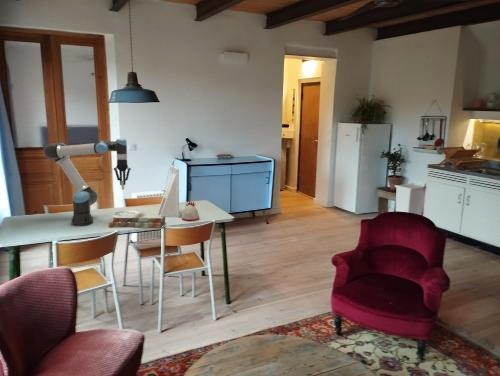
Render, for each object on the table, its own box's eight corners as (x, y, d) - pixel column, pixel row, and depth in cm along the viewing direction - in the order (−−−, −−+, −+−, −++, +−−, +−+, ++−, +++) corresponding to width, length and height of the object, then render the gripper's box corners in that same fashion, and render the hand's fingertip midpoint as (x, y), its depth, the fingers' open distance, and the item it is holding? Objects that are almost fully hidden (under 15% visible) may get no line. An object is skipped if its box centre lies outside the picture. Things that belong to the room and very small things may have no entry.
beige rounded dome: (195, 222, 320) (195, 203, 318) (179, 220, 323) (179, 202, 320) (201, 217, 334) (201, 199, 331) (185, 216, 336) (185, 198, 334)
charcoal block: (137, 226, 305) (137, 221, 304) (139, 223, 312) (139, 218, 311) (147, 226, 306) (147, 221, 305) (148, 223, 312) (148, 218, 312)
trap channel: (108, 227, 299) (108, 220, 298) (113, 222, 314) (113, 215, 313) (162, 227, 302) (162, 221, 301) (165, 222, 316) (164, 216, 316)
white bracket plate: (155, 212, 343) (154, 166, 335) (172, 211, 350) (171, 165, 342) (161, 219, 326) (161, 169, 318) (179, 217, 332) (178, 169, 324)
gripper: (112, 159, 308) (113, 190, 313) (129, 159, 309) (130, 190, 314) (114, 158, 315) (115, 188, 320) (131, 158, 316) (132, 188, 321)
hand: (122, 189), depth 317 cm, fingers closed
